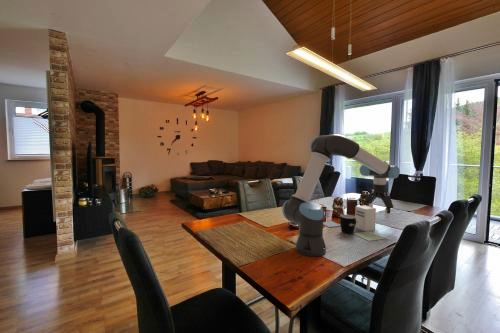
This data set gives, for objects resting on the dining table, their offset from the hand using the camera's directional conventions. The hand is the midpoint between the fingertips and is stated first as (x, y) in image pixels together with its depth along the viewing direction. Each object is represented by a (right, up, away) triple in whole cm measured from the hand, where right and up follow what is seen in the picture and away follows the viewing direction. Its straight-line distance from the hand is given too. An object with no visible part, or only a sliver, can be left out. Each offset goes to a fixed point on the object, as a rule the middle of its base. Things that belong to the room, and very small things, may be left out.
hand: (378, 215), depth 158 cm
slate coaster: (-31, -7, +5) cm, 32 cm away
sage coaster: (-15, -9, -18) cm, 25 cm away
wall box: (-11, -8, -3) cm, 13 cm away
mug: (-24, -9, -10) cm, 27 cm away
